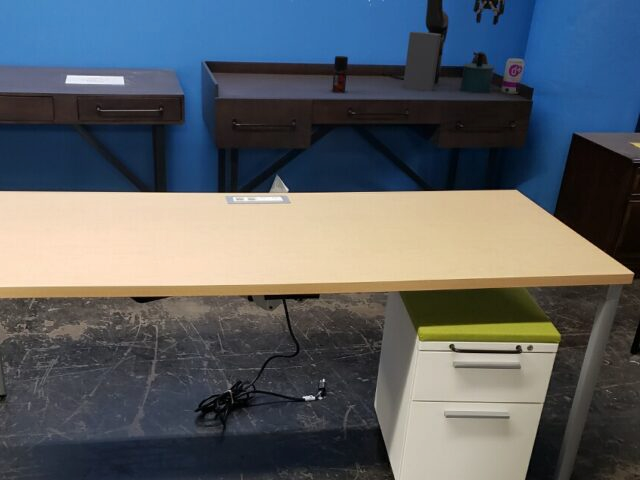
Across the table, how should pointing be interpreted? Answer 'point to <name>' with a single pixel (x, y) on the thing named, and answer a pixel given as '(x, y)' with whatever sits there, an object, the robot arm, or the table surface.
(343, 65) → the deodorant
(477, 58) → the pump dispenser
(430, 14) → the robot arm
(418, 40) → the cassette tape recorder
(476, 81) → the tin
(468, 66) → the tin lid
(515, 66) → the supplement can
